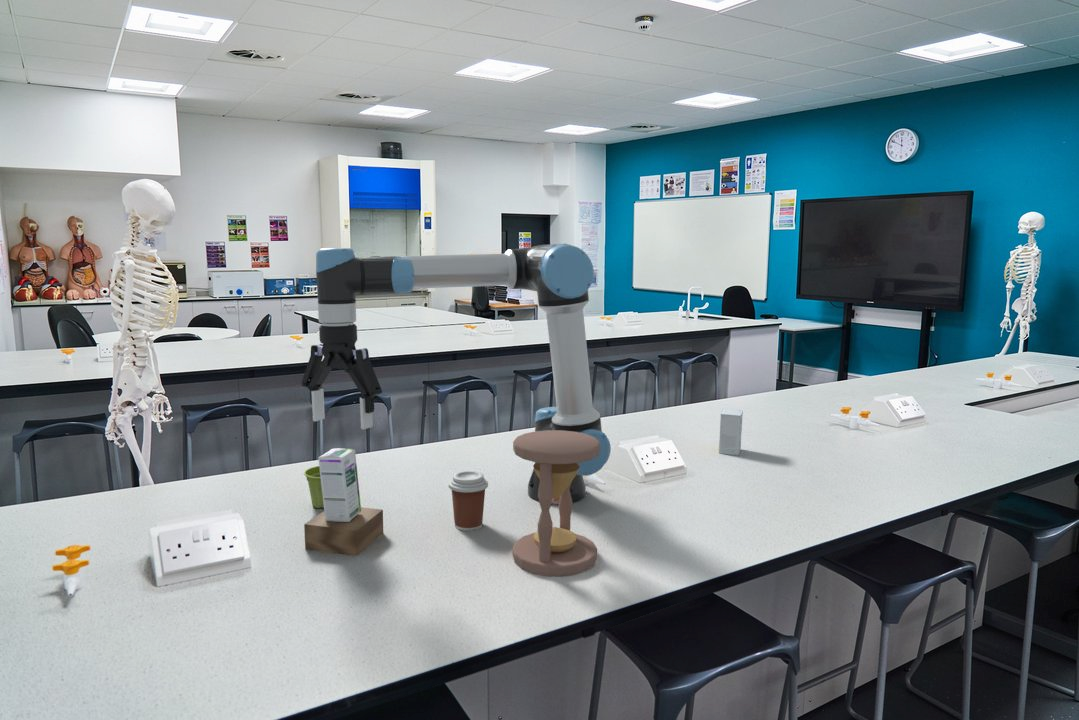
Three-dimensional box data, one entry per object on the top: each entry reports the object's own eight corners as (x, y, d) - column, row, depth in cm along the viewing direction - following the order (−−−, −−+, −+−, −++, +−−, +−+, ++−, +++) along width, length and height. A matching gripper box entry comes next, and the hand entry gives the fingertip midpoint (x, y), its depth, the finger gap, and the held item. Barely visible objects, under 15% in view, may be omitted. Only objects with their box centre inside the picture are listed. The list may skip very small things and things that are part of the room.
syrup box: (349, 522, 146) (343, 457, 144) (323, 521, 147) (317, 455, 145) (361, 511, 152) (356, 448, 149) (336, 510, 153) (331, 447, 150)
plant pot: (352, 504, 173) (351, 470, 171) (317, 514, 166) (316, 479, 164) (332, 495, 179) (331, 462, 178) (298, 504, 172) (296, 470, 171)
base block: (383, 535, 155) (382, 509, 154) (357, 557, 144) (356, 530, 143) (335, 529, 158) (334, 504, 157) (305, 551, 147) (304, 524, 146)
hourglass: (570, 585, 133) (573, 458, 129) (495, 562, 142) (496, 444, 138) (611, 552, 147) (614, 437, 143) (541, 533, 156) (542, 425, 152)
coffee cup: (451, 534, 155) (451, 483, 153) (446, 519, 164) (445, 470, 162) (491, 531, 157) (492, 480, 156) (484, 516, 166) (484, 467, 164)
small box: (720, 447, 227) (723, 408, 225) (740, 449, 225) (743, 409, 223) (718, 453, 220) (720, 413, 218) (739, 456, 218) (741, 415, 216)
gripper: (397, 325, 141) (400, 427, 144) (308, 318, 152) (313, 413, 156) (371, 329, 134) (375, 435, 138) (280, 322, 146) (286, 420, 149)
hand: (342, 423), depth 147 cm, fingers open, 13 cm apart
